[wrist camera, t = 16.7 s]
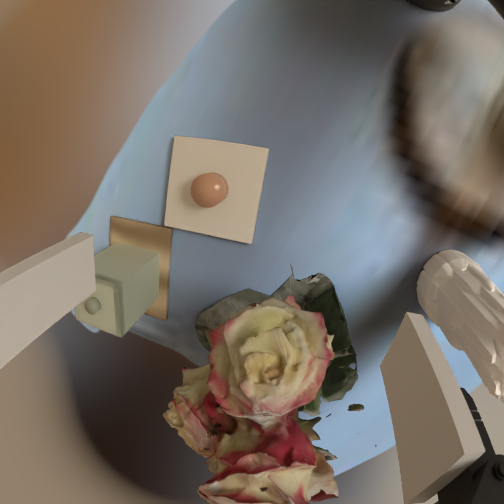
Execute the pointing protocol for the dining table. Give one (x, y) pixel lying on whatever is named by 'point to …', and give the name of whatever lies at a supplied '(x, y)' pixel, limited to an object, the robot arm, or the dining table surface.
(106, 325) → the sage cover
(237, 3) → the dining table surface
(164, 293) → the tan mat
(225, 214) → the cream plate
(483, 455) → the robot arm
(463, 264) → the decorative vase
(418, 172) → the dining table surface
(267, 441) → the rose bouquet
